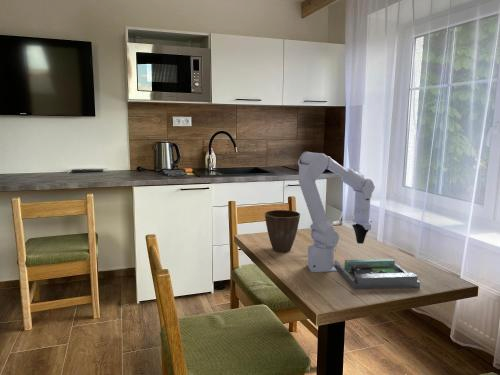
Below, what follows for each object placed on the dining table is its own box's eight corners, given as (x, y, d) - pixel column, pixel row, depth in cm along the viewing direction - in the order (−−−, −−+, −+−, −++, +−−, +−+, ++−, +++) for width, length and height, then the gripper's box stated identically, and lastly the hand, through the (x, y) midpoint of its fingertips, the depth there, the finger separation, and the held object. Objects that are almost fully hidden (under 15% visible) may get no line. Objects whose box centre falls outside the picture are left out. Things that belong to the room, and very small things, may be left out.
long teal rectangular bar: (346, 272, 144) (347, 262, 143) (344, 270, 146) (344, 259, 145) (394, 271, 145) (395, 261, 144) (391, 269, 148) (392, 258, 147)
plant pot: (261, 245, 176) (261, 210, 174) (293, 243, 179) (294, 209, 176) (269, 256, 162) (269, 218, 159) (303, 254, 164) (305, 216, 162)
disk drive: (362, 286, 134) (405, 284, 135) (363, 278, 133) (405, 276, 135) (352, 275, 144) (391, 273, 145) (352, 267, 143) (391, 266, 145)
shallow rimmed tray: (354, 289, 129) (355, 278, 129) (334, 265, 152) (334, 255, 151) (419, 287, 131) (420, 276, 131) (389, 263, 154) (390, 253, 153)
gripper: (379, 213, 146) (377, 248, 148) (365, 205, 160) (363, 237, 162) (361, 213, 145) (359, 248, 147) (348, 205, 159) (346, 237, 162)
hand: (360, 243), depth 155 cm, fingers closed
